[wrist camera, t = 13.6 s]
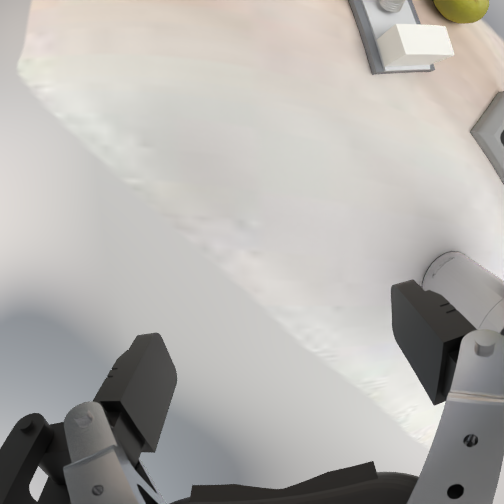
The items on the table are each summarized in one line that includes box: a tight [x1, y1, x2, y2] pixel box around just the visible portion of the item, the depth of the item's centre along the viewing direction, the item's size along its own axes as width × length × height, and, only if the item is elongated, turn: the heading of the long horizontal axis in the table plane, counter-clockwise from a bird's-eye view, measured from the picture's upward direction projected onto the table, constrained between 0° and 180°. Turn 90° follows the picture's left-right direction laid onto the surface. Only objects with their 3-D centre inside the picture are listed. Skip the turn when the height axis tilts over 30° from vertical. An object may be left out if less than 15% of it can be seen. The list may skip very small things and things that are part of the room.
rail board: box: [348, 0, 435, 75], centre depth 28 cm, size 17×8×2 cm, turn 13°
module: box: [377, 24, 454, 67], centre depth 26 cm, size 4×7×6 cm, turn 103°
